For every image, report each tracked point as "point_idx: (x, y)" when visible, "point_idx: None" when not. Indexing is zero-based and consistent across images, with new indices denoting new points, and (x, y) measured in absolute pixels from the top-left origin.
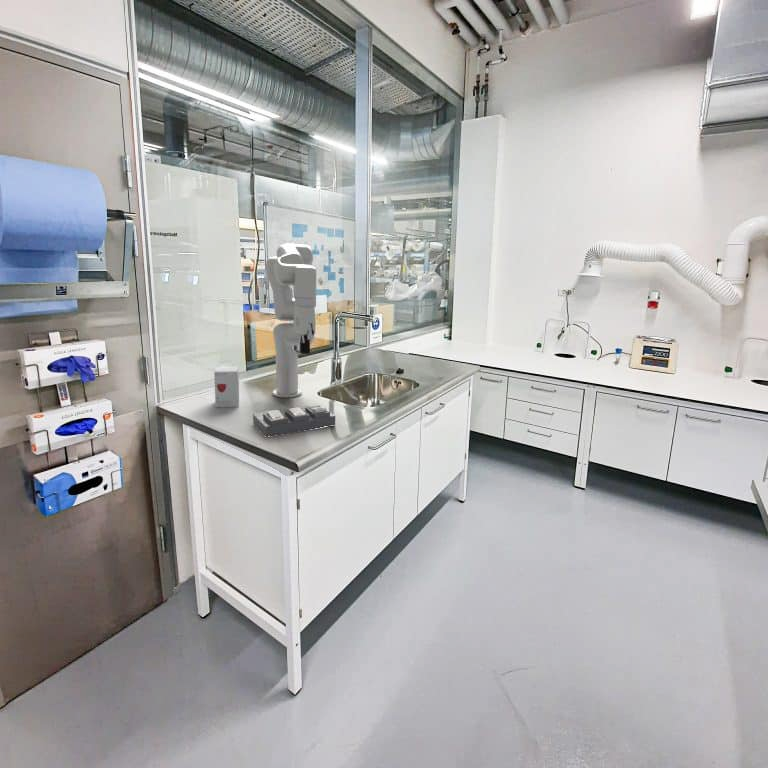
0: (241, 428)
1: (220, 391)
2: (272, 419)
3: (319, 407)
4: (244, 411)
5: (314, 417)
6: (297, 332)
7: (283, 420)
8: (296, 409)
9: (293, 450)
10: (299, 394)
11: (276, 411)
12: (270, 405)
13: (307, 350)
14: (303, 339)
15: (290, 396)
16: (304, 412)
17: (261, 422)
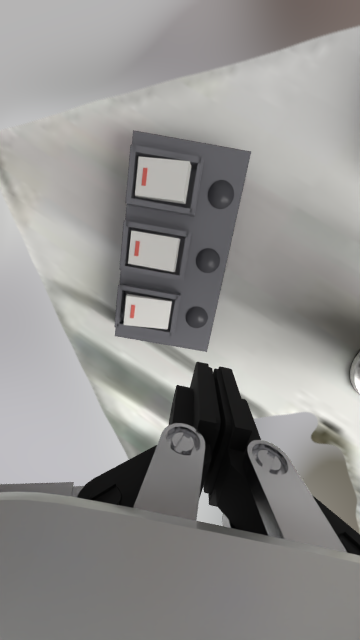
0: (237, 119)
1: None
2: (144, 157)
3: (152, 322)
4: (351, 196)
5: (123, 284)
6: (310, 576)
7: (128, 187)
8: (164, 256)
9: (39, 164)
10: (353, 384)
11: (176, 190)
12: (341, 283)
13: (172, 409)
14: (151, 465)
15: (357, 358)
16: (145, 270)
17: (172, 137)
